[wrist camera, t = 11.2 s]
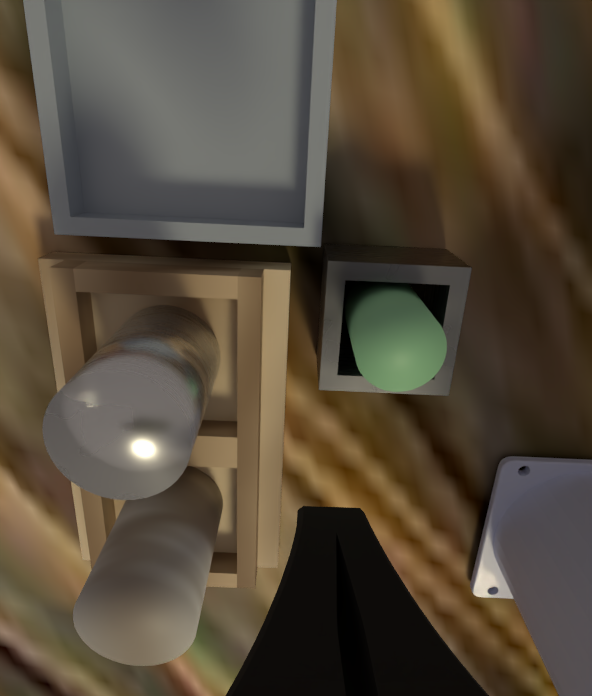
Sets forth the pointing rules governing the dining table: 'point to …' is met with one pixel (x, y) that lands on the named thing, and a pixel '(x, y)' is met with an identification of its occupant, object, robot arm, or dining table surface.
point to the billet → (135, 406)
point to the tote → (185, 117)
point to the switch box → (388, 266)
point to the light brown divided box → (207, 455)
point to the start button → (393, 335)
